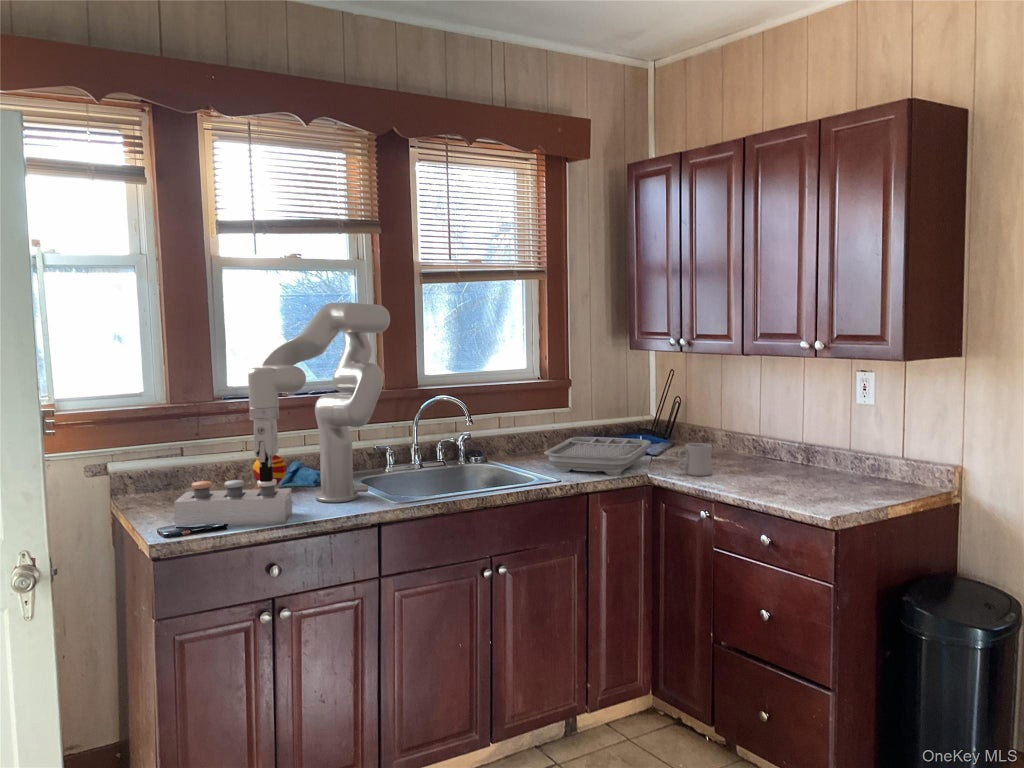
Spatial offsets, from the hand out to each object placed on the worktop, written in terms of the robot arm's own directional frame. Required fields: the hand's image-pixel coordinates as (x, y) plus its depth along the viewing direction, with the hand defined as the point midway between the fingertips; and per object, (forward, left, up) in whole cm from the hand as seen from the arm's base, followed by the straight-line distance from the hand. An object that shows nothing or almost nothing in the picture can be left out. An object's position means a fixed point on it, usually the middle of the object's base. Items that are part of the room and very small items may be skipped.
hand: (266, 480), depth 221 cm
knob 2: (0, 0, -8) cm, 8 cm away
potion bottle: (+5, -37, -11) cm, 39 cm away
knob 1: (+17, 0, -8) cm, 19 cm away
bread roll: (+4, -19, -11) cm, 22 cm away
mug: (-134, -39, -11) cm, 140 cm away
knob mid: (+8, 0, -8) cm, 12 cm away
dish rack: (-105, -58, -11) cm, 120 cm away
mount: (+8, 0, -11) cm, 13 cm away
